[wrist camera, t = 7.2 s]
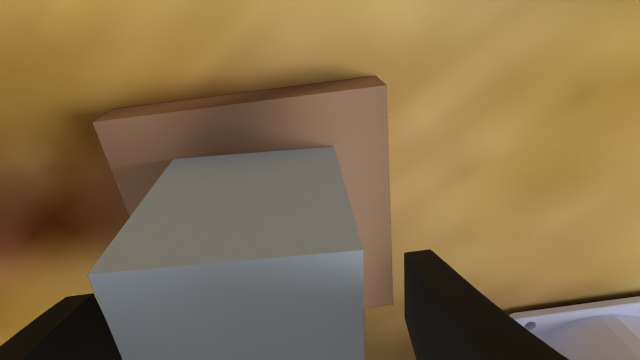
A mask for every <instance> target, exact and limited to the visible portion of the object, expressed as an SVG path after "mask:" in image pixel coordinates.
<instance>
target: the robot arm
mask: <svg viewBox="0 0 640 360" xmlns="http://www.w3.org/2000/svg"><path fill="white" fill-rule="evenodd" d="M404 287H405V321H406V324H407V328H408V331H409V335H410V338H411V342H412V345H413V349H414V352H415V355H416V359H417V360H640V296H637V297H629V298H622V299H614V300H607V301H600V302H592V303H585V304H577V305H570V306H562V307H555V308H548V309H540V310H533V311H525V312H518V313H513V314H510V315H508V314H506V313H505V312H504V311H503V310H501V309H500V308H499V307H498V306H496V305H495V304H494V303H493V302H491V301H490V300H489V299H488V298H486V297H485V296H484V295H483V294H482V293H480V292H479V291H478V290H477V289H476V288H474V287H473V286H472V285H471V284H470V283H469V282H467V281H466V280H465V279H464V278H463V277H462V276H460V275H459V274H458V273H457V272H456V271H455V270H454V269H452V268H451V267H450V266H449V265H448V264H447V263H446V262H444V261H443V260H442V259H441V258H440V257H439V256H437V255H436V254H435V253H434V252H433V251H431V250H422V251H415V252H407V253H404ZM0 360H122V357H121V355H120V352H119V350H118V347H117V345H116V343H115V340H114V338H113V335H112V333H111V331H110V328H109V326H108V323H107V321H106V319H105V316H104V314H103V312H102V310H101V308H100V306H99V304H98V302H97V300H96V298H95V296H94V294H85V295H77V296H69V297H66V298H64V299H63V300H61V301H60V302H58V303H57V304H55V305H54V306H53V307H51V308H50V309H48V310H47V311H46V312H44V313H43V314H42V315H40V316H39V317H38V318H36V319H35V320H34V321H32V322H31V323H30V324H28V325H27V326H26V327H25V328H23V329H22V330H21V331H19V332H18V333H17V334H15V335H14V336H13V337H12V338H10V339H9V340H8V341H6V342H5V343H4V344H3V345H1V346H0Z"/></svg>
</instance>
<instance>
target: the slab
mask: <svg viewBox="0 0 640 360" xmlns="http://www.w3.org/2000/svg"><path fill="white" fill-rule="evenodd" d="M92 123H93V125H94V128H95V130H96V133H97V135H98V138H99V141H100V143H101V146H102V148H103V151H104V153H105V156H106V159H107V161H108V164H109V166H110V169H111V171H112V174H113V176H114V179H115V182H116V184H117V187H118V189H119V192H120V194H121V197H122V200H123V202H124V205H125V207H126V210H127V212H128V215H129V218H130V216H131V215H132V214H133V212H134V211H135V210H136V208H137V207H138V206H139V204H140V203H141V202H142V200H143V199H144V198H145V196H146V195H147V194H148V192H149V191H150V190H151V188H152V187H153V186H154V184H155V183H156V182H157V180H158V179H159V178H160V176H161V175H162V174H163V172H164V171H165V170H166V168H167V167H168V166H169V164H170V163H171V162H172V160H173V159H179V158H191V157H204V156H217V155H230V154H242V153H255V152H268V151H280V150H293V149H306V148H319V147H331V146H334V148H335V152H336V155H337V159H338V162H339V166H340V169H341V173H342V176H343V180H344V183H345V187H346V190H347V194H348V198H349V201H350V205H351V208H352V212H353V215H354V219H355V222H356V226H357V229H358V233H359V236H360V240H361V243H362V247H363V259H364V308H371V307H379V306H386V305H393V280H392V247H391V214H390V181H389V148H388V115H387V85H386V84H385V83H384V82H382V81H381V80H380V79H379V78H378V77H377V76H372V77H364V78H356V79H348V80H340V81H332V82H324V83H316V84H308V85H300V86H292V87H284V88H276V89H268V90H260V91H252V92H244V93H236V94H228V95H220V96H212V97H204V98H196V99H188V100H180V101H172V102H164V103H156V104H148V105H140V106H132V107H125V108H117V109H113V110H111V111H110V112H108V113H106V114H105V115H103V116H102V117H100V118H98V119H97V120H95V121H94V122H92Z"/></svg>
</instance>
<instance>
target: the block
mask: <svg viewBox="0 0 640 360" xmlns="http://www.w3.org/2000/svg"><path fill="white" fill-rule="evenodd" d="M87 276H88V278H89V280H90V283H91V285H92V288H93V290H94V292H95V295H96V297H97V300H98V302H99V304H100V307H101V309H102V312H103V314H104V316H105V319H106V321H107V323H108V326H109V328H110V331H111V333H112V335H113V338H114V340H115V343H116V345H117V347H118V350H119V352H120V355H121V357H122V359H123V360H364V259H363V247H362V243H361V240H360V236H359V233H358V229H357V226H356V222H355V219H354V215H353V212H352V208H351V205H350V201H349V198H348V194H347V190H346V187H345V183H344V180H343V176H342V173H341V169H340V166H339V162H338V159H337V155H336V152H335V148H334V146H331V147H319V148H306V149H293V150H280V151H268V152H255V153H242V154H230V155H217V156H204V157H191V158H179V159H173V160H172V162H171V163H170V164H169V166H168V167H167V168H166V170H165V171H164V172H163V174H162V175H161V176H160V178H159V179H158V180H157V182H156V183H155V184H154V186H153V187H152V188H151V190H150V191H149V192H148V194H147V195H146V196H145V198H144V199H143V200H142V202H141V203H140V204H139V206H138V207H137V208H136V210H135V211H134V212H133V214H132V215H131V216H130V218H129V219H128V220H127V222H126V223H125V224H124V226H123V227H122V228H121V230H120V231H119V232H118V234H117V235H116V236H115V238H114V239H113V240H112V242H111V243H110V244H109V246H108V247H107V248H106V250H105V251H104V252H103V254H102V255H101V257H100V258H99V259H98V261H97V262H96V263H95V265H94V266H93V267H92V269H91V270H90V271H89V273H88V274H87Z"/></svg>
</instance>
